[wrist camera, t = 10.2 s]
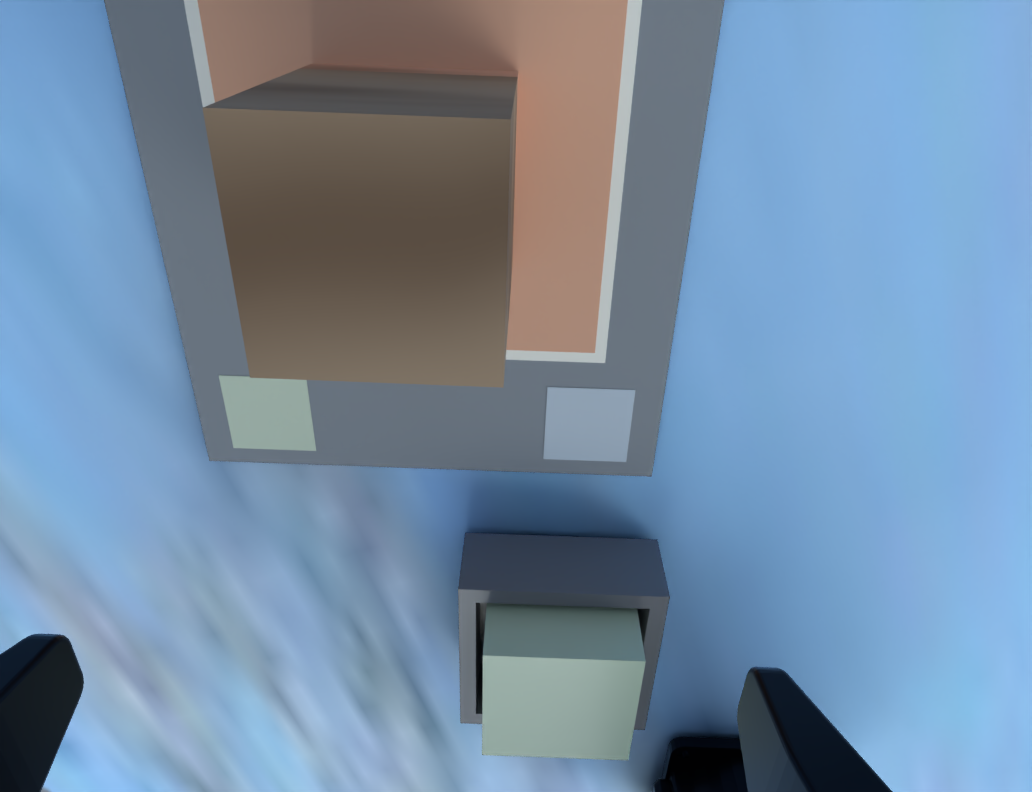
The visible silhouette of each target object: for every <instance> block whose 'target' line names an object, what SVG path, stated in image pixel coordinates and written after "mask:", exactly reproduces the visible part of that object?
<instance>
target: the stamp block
mask: <svg viewBox="0 0 1032 792" xmlns="http://www.w3.org/2000/svg"><path fill="white" fill-rule="evenodd" d="M517 103H518V71H498V70H471V69H445V68H418V67H392V66H366V65H339V64H313V63H312V64H309V65H307V66H304V67H302V68H299V69H297V70H294V71H292V72H289V73H287V74H285V75H282V76H280V77H277V78H275V79H272V80H270V81H267V82H265V83H262V84H260V85H257V86H255V87H252V88H250V89H247V90H245V91H242V92H240V93H238V94H235V95H233V96H230V97H228V98H225V99H223V100H220V101H218V102H215V103H213V104H210V105H208V106H205V107H203V114H204V120H205V125H206V131H207V137H208V142H209V148H210V154H211V159H212V165H213V171H214V176H215V182H216V188H217V193H218V199H219V205H220V210H221V216H222V222H223V227H224V233H225V239H226V244H227V250H228V256H229V261H230V267H231V273H232V278H233V284H234V290H235V295H236V301H237V307H238V312H239V318H240V324H241V329H242V335H243V341H244V346H245V352H246V358H247V363H248V369H249V375H250V378H270V379H296V380H321V381H347V382H373V383H398V384H424V385H450V386H476V387H501V388H504V374H505V361H506V347H507V334H508V320H509V307H510V293H511V280H512V263H513V231H514V199H515V167H516V135H517Z"/></svg>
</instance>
